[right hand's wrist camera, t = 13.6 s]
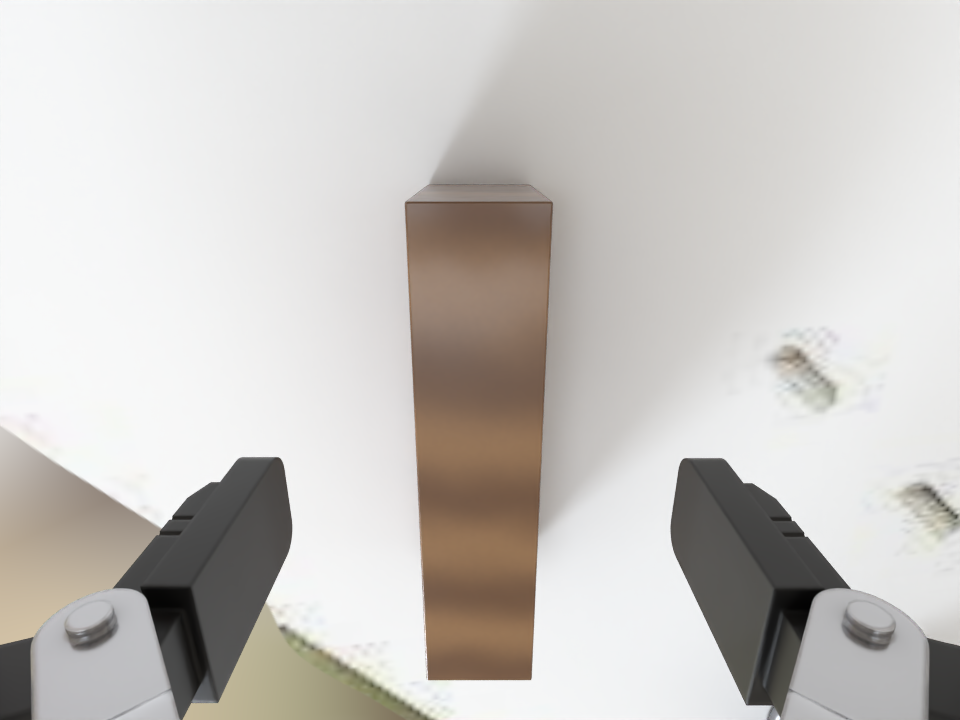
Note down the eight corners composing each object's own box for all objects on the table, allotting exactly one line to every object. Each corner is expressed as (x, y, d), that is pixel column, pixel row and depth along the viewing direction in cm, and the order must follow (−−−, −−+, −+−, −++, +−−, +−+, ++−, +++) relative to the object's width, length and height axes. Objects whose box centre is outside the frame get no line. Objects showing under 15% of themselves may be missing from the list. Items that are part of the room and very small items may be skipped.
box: (427, 184, 33) (404, 201, 23) (530, 184, 33) (553, 201, 23) (439, 554, 43) (426, 680, 33) (519, 554, 43) (531, 680, 33)
